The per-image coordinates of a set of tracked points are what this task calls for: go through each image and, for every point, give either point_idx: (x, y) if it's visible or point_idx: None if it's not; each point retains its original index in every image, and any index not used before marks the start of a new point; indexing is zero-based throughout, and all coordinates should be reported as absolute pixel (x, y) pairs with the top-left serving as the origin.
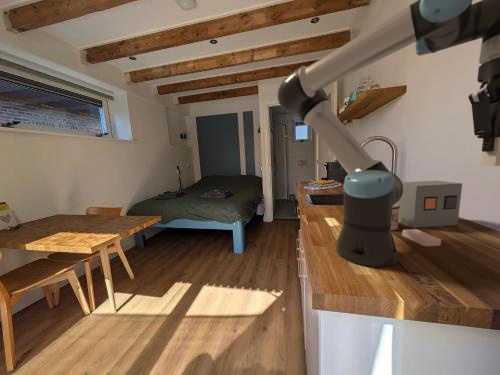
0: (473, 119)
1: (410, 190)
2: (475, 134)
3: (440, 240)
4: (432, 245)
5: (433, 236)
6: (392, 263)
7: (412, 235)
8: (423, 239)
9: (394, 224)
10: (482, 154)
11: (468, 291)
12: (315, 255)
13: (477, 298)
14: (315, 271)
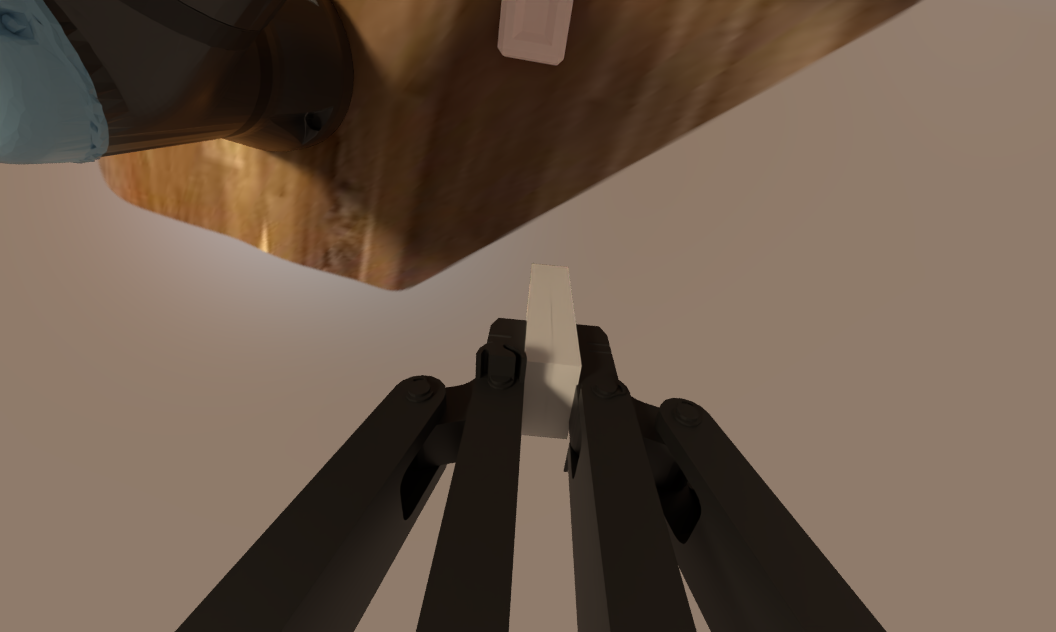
0: (277, 521)
1: None
2: (402, 386)
3: (554, 64)
4: (527, 60)
5: (559, 29)
6: (308, 146)
7: None
8: (500, 42)
9: None
10: (530, 295)
11: (399, 259)
12: None
13: (395, 275)
14: None
